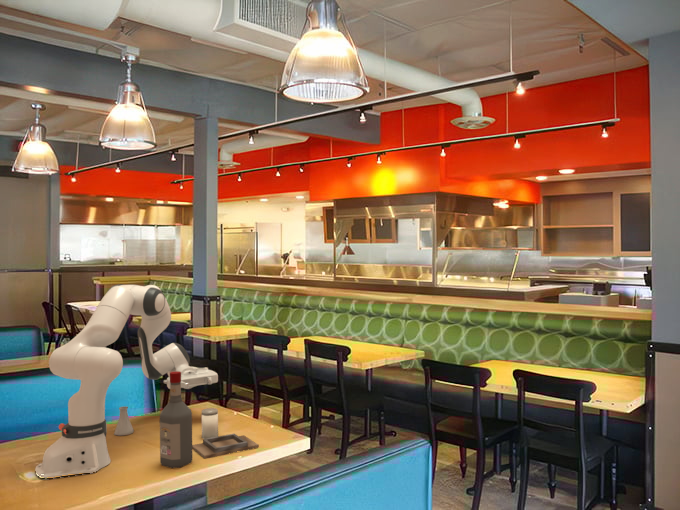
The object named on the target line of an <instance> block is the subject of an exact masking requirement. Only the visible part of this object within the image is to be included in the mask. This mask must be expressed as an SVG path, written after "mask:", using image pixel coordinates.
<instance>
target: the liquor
mask: <svg viewBox="0 0 680 510" xmlns="http://www.w3.org/2000/svg"><path fill="white" fill-rule="evenodd" d="M169 390H170V396H169V397H170V398H169V402H168V403H167V404H166V405H165V406H164V408H163V409H162V410H161V412H160V414H159V451H160V453H159V457H160V459H159V461H160V465H161V467H166V468H170V469H178V468H182V467H185V466H187V465H190V464H192V462H193V449H192V445H193V411H192V410H191V408H190V407H189V406H188V405H187V404H186V403H185V402H184V401H183V398H182V388H181V372H179V371H175V372H170V389H169Z"/></svg>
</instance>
